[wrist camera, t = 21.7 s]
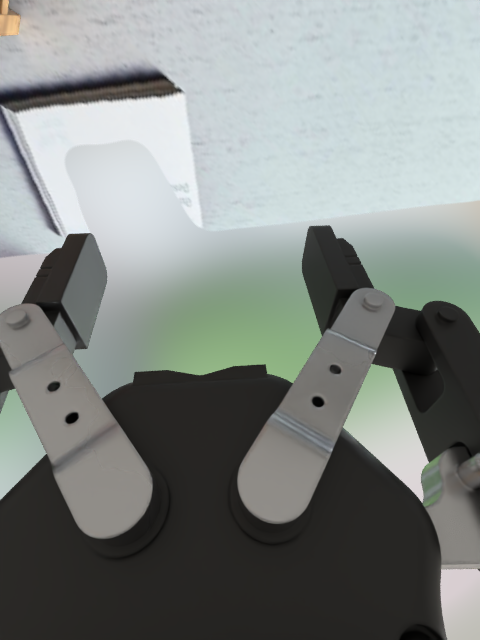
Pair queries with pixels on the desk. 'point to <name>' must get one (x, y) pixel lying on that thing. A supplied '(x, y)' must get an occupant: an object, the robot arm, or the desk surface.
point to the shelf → (8, 20)
